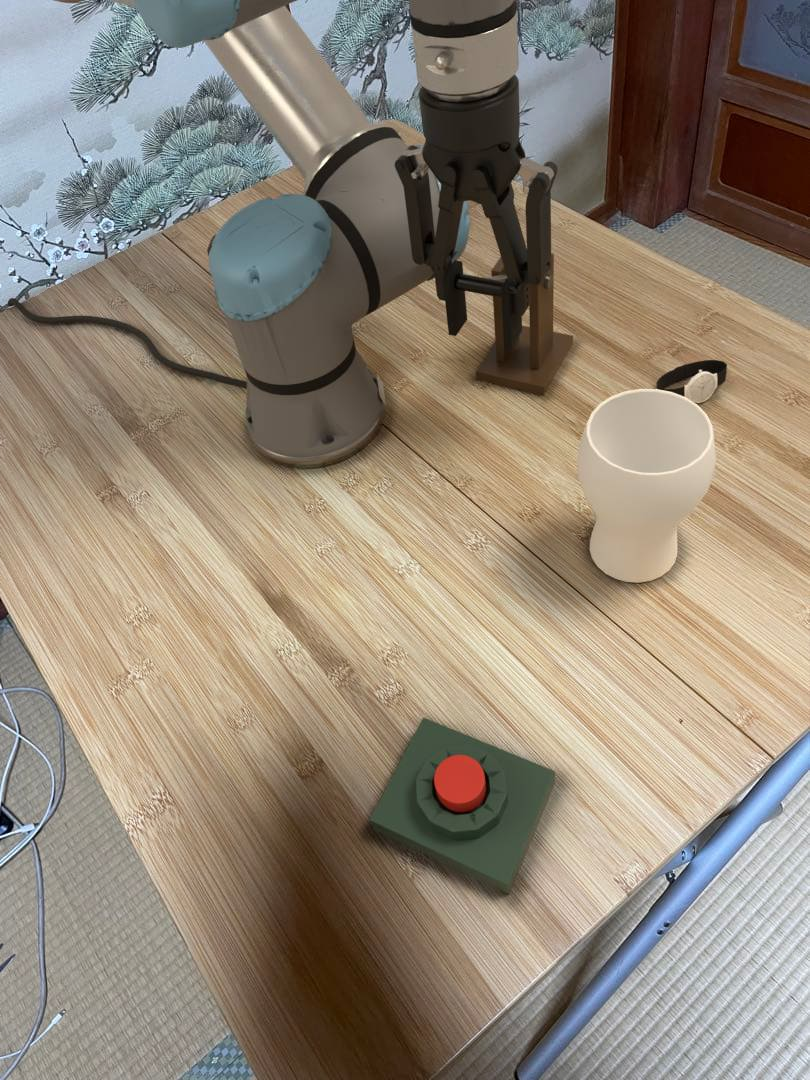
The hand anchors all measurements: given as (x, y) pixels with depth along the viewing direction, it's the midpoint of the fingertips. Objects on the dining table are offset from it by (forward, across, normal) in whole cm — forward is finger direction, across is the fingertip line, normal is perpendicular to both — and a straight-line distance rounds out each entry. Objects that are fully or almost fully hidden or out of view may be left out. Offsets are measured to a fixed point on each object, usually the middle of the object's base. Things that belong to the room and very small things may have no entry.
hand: (485, 332), depth 80 cm
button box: (+11, +15, -40) cm, 44 cm away
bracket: (+11, 0, +10) cm, 15 cm away
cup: (+11, +19, -12) cm, 25 cm away
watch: (+11, +18, +10) cm, 24 cm away
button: (+8, +15, -40) cm, 43 cm away
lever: (-1, 0, +4) cm, 5 cm away
